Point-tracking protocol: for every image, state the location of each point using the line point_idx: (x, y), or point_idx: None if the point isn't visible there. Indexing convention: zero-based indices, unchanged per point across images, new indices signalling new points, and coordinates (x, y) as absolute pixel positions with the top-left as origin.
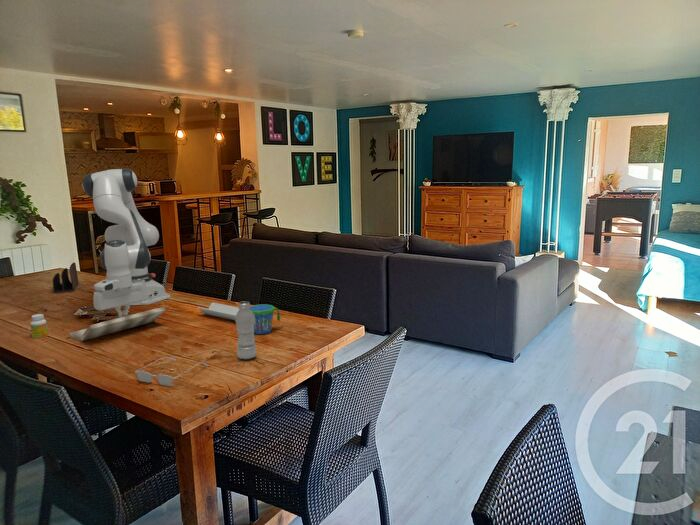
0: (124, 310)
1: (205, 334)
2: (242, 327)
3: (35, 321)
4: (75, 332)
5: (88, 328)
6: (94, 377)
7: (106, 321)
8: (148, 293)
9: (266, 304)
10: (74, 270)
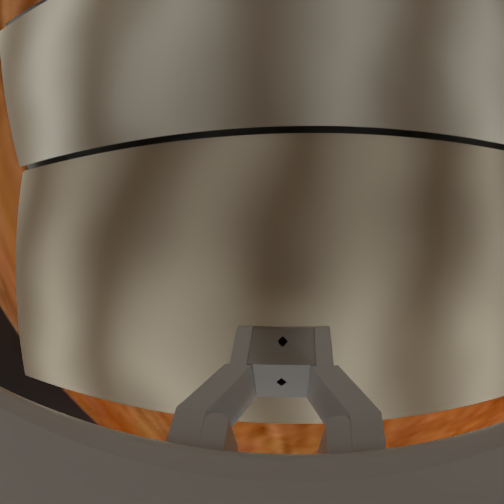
0: (313, 379)
1: (448, 414)
2: None
3: None
4: (16, 41)
5: (24, 340)
6: (103, 419)
7: (102, 397)
8: None
9: None
10: None
